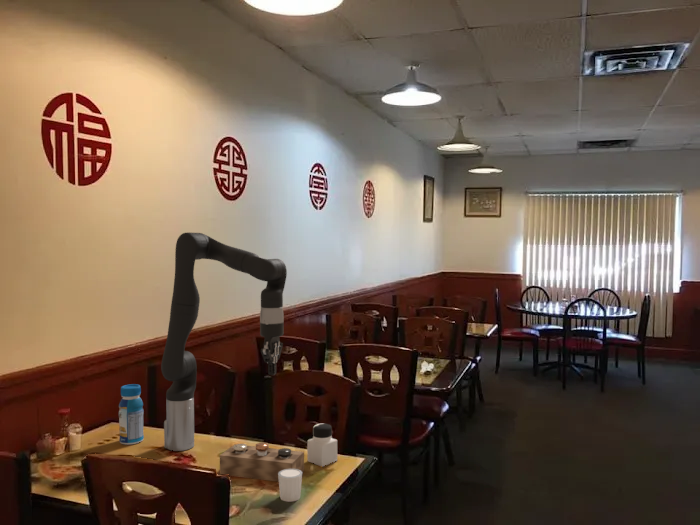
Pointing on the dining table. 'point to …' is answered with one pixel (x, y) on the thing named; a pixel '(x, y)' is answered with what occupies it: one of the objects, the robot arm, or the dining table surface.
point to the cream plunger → (240, 448)
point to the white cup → (290, 484)
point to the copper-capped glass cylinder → (262, 449)
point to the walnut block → (259, 463)
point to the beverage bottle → (131, 415)
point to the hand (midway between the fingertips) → (272, 374)
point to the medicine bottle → (322, 446)
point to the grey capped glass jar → (284, 453)
